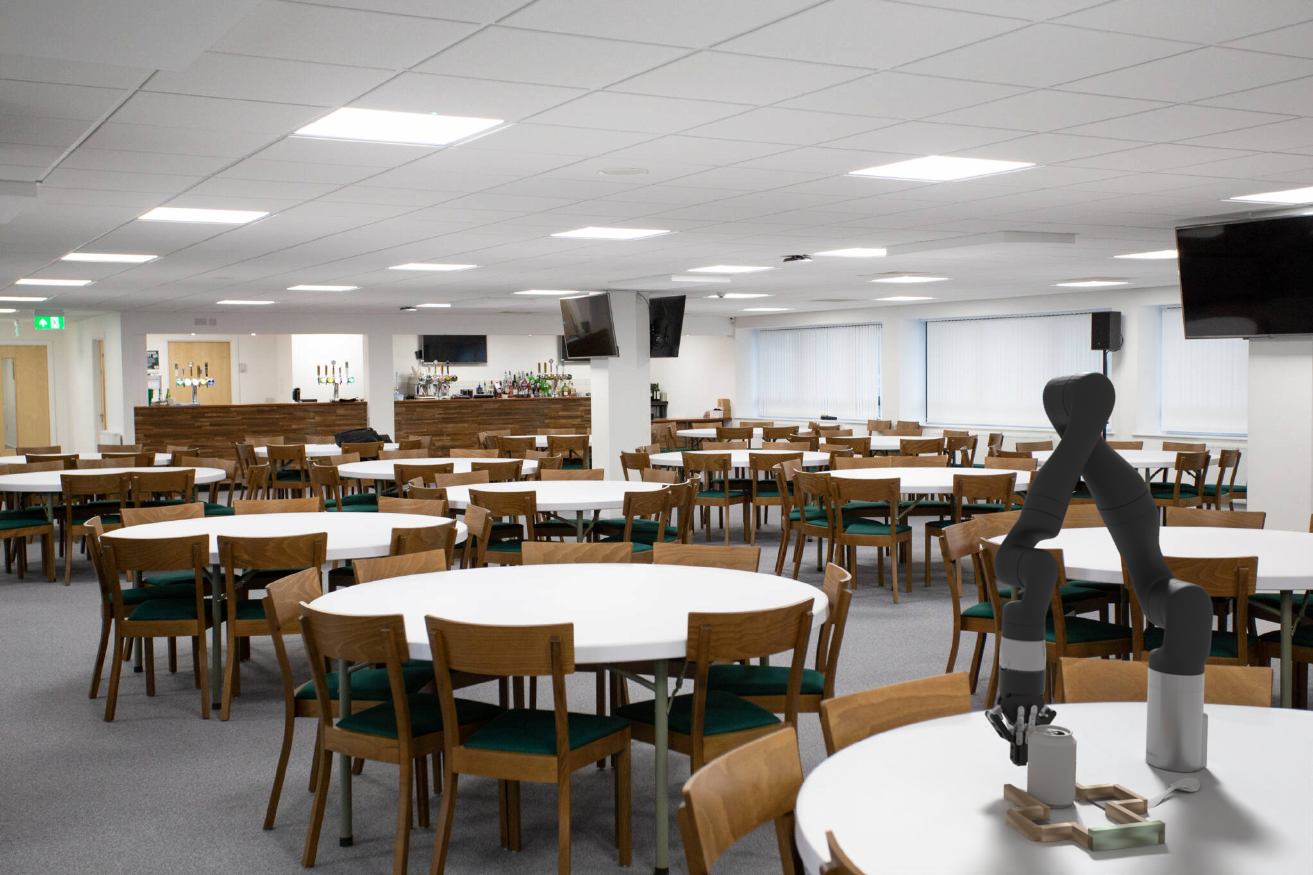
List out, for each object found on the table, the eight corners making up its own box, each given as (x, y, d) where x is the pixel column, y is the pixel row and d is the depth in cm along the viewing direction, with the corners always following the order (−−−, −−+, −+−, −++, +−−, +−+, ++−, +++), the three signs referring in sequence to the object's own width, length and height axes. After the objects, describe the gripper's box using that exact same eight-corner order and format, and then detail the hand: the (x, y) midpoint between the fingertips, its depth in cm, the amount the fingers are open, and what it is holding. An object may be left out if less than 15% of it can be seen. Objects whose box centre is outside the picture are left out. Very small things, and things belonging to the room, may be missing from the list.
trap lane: (1100, 786, 189) (1100, 769, 189) (1199, 839, 167) (1200, 819, 167) (970, 799, 183) (970, 781, 183) (1055, 855, 161) (1056, 835, 160)
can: (1079, 811, 178) (1080, 737, 177) (1029, 808, 179) (1031, 734, 179) (1071, 795, 185) (1073, 723, 185) (1024, 791, 187) (1025, 720, 186)
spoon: (1206, 790, 190) (1206, 780, 189) (1146, 818, 176) (1147, 808, 176) (1182, 783, 193) (1182, 774, 193) (1121, 810, 180) (1121, 800, 180)
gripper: (1043, 657, 195) (1040, 755, 196) (975, 660, 192) (972, 760, 192) (1069, 667, 188) (1066, 769, 188) (1000, 670, 184) (996, 774, 185)
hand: (1019, 764), depth 190 cm, fingers closed
